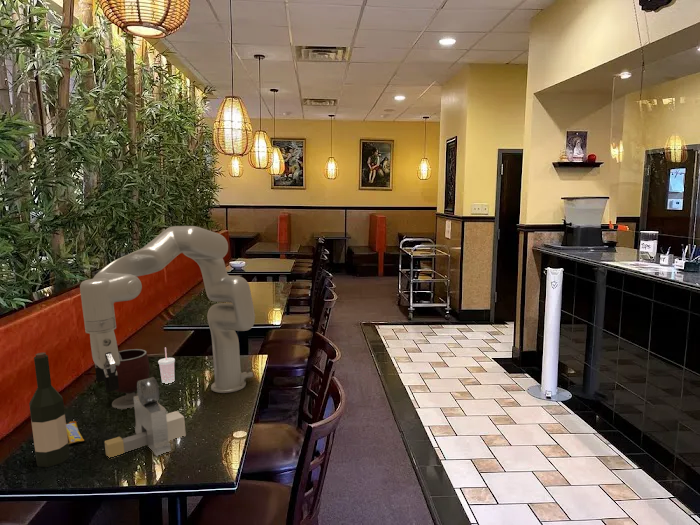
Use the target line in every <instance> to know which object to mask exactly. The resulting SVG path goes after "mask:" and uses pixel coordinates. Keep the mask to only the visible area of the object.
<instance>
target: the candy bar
mask: <svg viewBox="0 0 700 525" xmlns="http://www.w3.org/2000/svg"><path fill="white" fill-rule="evenodd" d="M66 429H67V438H68V445H72V444H74V443H80V442H85V439H84V438H83V436H82V434H81V433H80V430H79V427H78V423H77V420H75V421H73V420H72V421H69V422H68V423H67V422H66Z"/></svg>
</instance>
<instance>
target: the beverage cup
mask: <svg viewBox="0 0 700 525" xmlns="http://www.w3.org/2000/svg"><path fill="white" fill-rule="evenodd" d="M164 355H165V357H164V358H160V359H159V360H158V361H157V363H158V365H159V371H160V377H161V384H162V383H165V384H168V383H172V382H174V381H175V380H176V379H175V362H176V359H175V358H174V357H168V355H167V347H164ZM175 382H176V381H175ZM175 382H174V383H175Z"/></svg>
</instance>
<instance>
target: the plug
mask: <svg viewBox="0 0 700 525" xmlns="http://www.w3.org/2000/svg"><path fill="white" fill-rule="evenodd" d="M166 418H167V429H168V441H169V442H171V441H170V440H172V441H174V440H173V439H175V438H178V439H180V438H179V437H181V438H183V437H182V436H184V437H186V436H187V432H186V422H185V416H184V415H183V414H182V413H180V412H179V411H178V410H175V411H172V412H167V413H166ZM175 440H176V439H175ZM145 445H148V438H147V431H146V432H142V433H139V434H136V433H135V434H133V435H128V436H127V437H123V438H122V437H121V436H117V437H116V436H115V437H112V438H110V439H107V440H104V448H105V456H106V457H107V456H108V457H109V458H110V457H114V456H117V455H120V454H123V453H125V452H128V451H131V450H134V449H137V448H140V447H142V446H145ZM108 457H107V458H108ZM117 457H118V456H117ZM109 458H108V459H109ZM114 458H115V457H114Z"/></svg>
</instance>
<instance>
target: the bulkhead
mask: <svg viewBox="0 0 700 525" xmlns="http://www.w3.org/2000/svg"><path fill="white" fill-rule="evenodd" d="M136 393H138V396H135V397H133V398H134V408H133V409H134V416H135V417H134V418H135V419H134V420H135V425H134V431H135V432H134V433H135V435H136V434H139V433H142V432H146V431H147V438H148V446H147V447H149V448H150V449H151V450H152V451H153V452H154V453H153V452H152V451H151V450H150V449H149V448H148V449H149V450H150V451H151V452H152V453H153V454H154V456H156V457H159V456H158V455H160V456H162V455H161V454H163V453H166V452H169V451H171V452H172V446H171V442H170V441H168V429H167V418H166V414H167V409H166V408H165V406H163V405H161V404H160V403H159V400H160V389H159V385H158V382H157V379H156V378H155V377H154V376H151V377H149V378H148V379H144V380H140V381H138V382H137V391H136ZM169 453H170V452H169ZM166 454H167V453H166ZM163 455H164V454H163Z"/></svg>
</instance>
